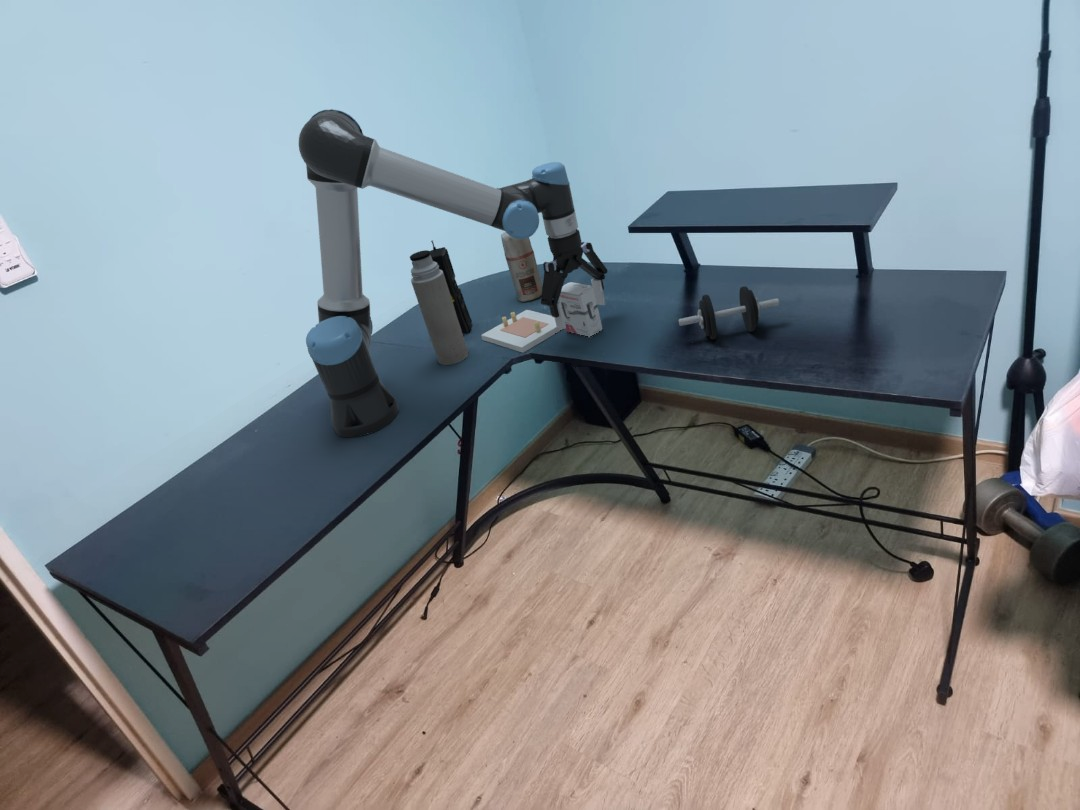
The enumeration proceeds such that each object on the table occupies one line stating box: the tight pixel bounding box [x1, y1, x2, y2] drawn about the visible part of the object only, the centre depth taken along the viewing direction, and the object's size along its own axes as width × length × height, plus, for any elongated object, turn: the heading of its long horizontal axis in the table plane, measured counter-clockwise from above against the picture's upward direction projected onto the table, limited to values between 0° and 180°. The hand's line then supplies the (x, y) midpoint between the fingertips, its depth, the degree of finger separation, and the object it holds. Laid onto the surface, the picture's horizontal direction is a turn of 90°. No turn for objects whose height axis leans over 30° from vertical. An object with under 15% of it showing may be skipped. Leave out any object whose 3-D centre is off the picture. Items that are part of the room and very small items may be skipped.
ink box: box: [558, 281, 603, 338], centre depth 173 cm, size 9×5×12 cm, turn 42°
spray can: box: [500, 231, 543, 302], centre depth 200 cm, size 8×8×20 cm
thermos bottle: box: [409, 249, 469, 366], centre depth 174 cm, size 8×8×28 cm
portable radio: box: [429, 240, 473, 335], centre depth 188 cm, size 8×6×25 cm
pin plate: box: [481, 309, 563, 354], centre depth 182 cm, size 16×17×4 cm
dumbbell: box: [677, 285, 780, 340], centre depth 155 cm, size 22×10×10 cm, turn 89°
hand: (581, 315), depth 174 cm, fingers open, 13 cm apart
